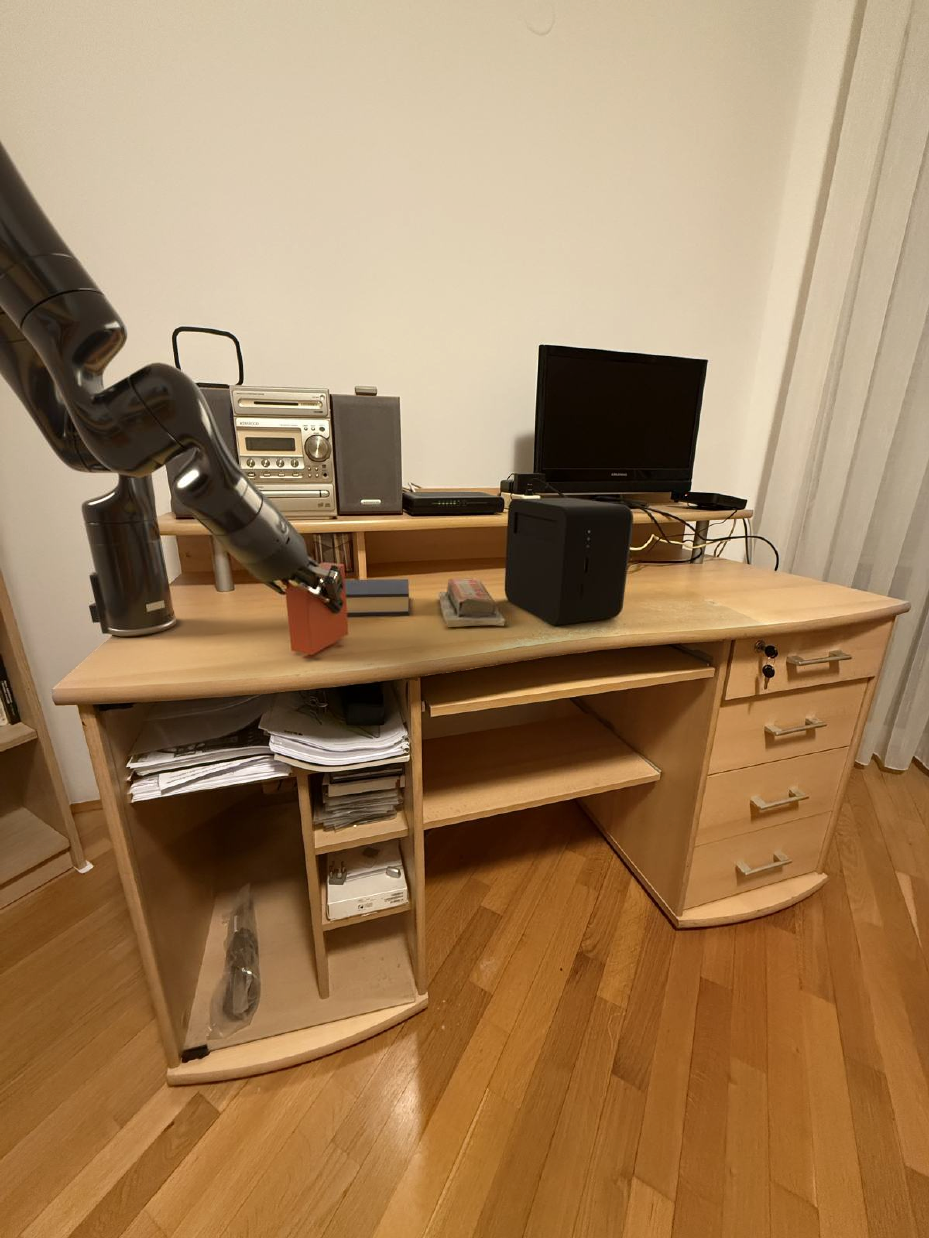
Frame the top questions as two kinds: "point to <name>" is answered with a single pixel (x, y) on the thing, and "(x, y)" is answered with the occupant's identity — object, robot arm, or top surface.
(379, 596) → the big book
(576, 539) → the black nas enclosure
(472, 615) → the packaged product
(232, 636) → the top surface
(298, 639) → the red rectangular block
